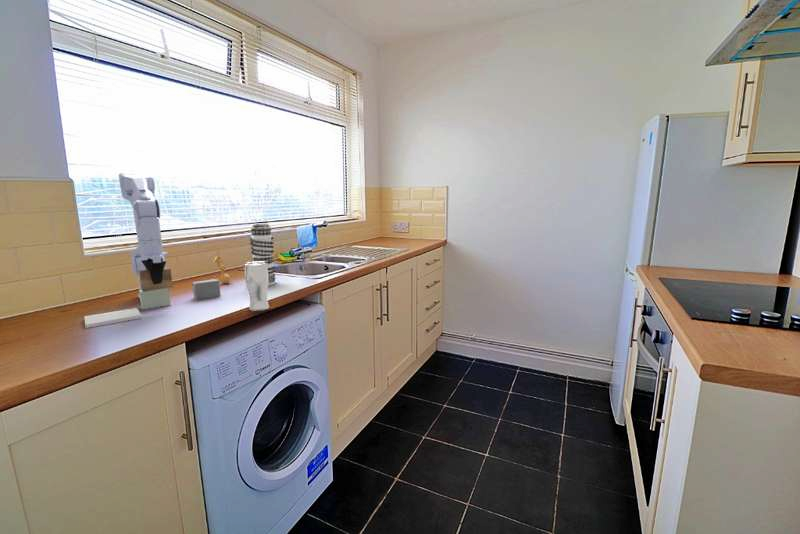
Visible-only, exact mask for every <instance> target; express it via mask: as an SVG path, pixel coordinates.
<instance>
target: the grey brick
mask: <svg viewBox="0 0 800 534" xmlns="http://www.w3.org/2000/svg"><path fill="white" fill-rule="evenodd" d="M219 280H220V279H218V278H213V279H206V280H199V281H198V280H197V281H192V284H191V285H192V293H193V299H194V298H195V299H194V300H195V301H199V299H200V300H206V299H213V298H217V297H221V289H220V287H221V286H220V281H219ZM205 298H206V299H205Z"/></svg>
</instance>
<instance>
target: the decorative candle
mask: <svg viewBox="0 0 800 534" xmlns="http://www.w3.org/2000/svg"><path fill="white" fill-rule="evenodd" d="M271 228H272V226H270V225H269V223H266V222H264V223H263V222H262V223H261V222H260V223H259V222H258V223H254V224H252V226H251V227H250V230H251V231H250V233H251V237H250V238H249V242H250V243H249V245H250V246H251V247H250V250H251V252H250V253H251V254H252V255H251V257H252V258H253V262H258V261H262V262H267V269H268V286H272V285H275V284H276V274H275V273H276V270H274V269H275V266H274V261H273V260H274V259H273V257H274V252H275V251H274V250H273V248H274V242H273V241H272V240H274V237H273V236H272V231H271Z"/></svg>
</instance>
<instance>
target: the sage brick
mask: <svg viewBox="0 0 800 534" xmlns="http://www.w3.org/2000/svg"><path fill="white" fill-rule="evenodd" d="M138 295H140V298H139V300H140V308H141V310H143V309H145V310H148V308H151V309H154V308H153V307H157V308H161V307H160V306H163V307H167V305H169V306H172V303H171V295H170V288H166V289H159V290H152V291H145V292H143V291H142V290H140V289H139V290H138Z"/></svg>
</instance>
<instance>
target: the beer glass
mask: <svg viewBox="0 0 800 534" xmlns="http://www.w3.org/2000/svg"><path fill="white" fill-rule="evenodd" d="M244 279H245V284H246V288H247V289H246V290H247V291H248V295H249V308H248V309H249V311H251V312H261V311H262V312H263V311H266V310H268V309H269V308H270V304H269V300H268V288H269V285H268V269H267V262H262V261H258V262H254V261H248V262H246V263H244Z"/></svg>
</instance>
